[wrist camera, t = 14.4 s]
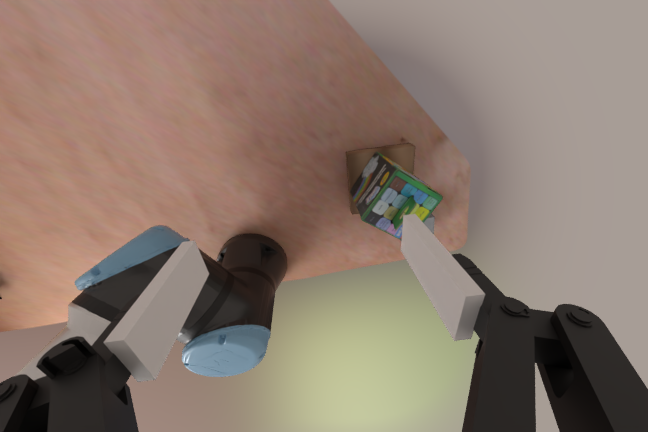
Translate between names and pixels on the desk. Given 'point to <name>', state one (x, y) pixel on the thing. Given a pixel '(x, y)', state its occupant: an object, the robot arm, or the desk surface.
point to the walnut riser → (360, 158)
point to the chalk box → (391, 195)
